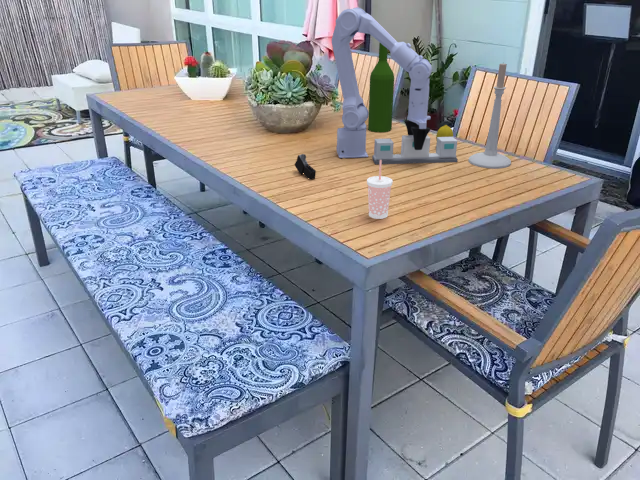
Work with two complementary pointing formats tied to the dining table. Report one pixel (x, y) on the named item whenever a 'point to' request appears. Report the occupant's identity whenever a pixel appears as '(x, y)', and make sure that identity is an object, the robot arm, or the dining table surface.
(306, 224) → the dining table surface
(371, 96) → the wine bottle
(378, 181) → the beverage cup
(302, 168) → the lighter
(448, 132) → the lemon
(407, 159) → the board
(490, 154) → the candlestick
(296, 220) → the dining table surface
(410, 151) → the block
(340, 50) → the robot arm
